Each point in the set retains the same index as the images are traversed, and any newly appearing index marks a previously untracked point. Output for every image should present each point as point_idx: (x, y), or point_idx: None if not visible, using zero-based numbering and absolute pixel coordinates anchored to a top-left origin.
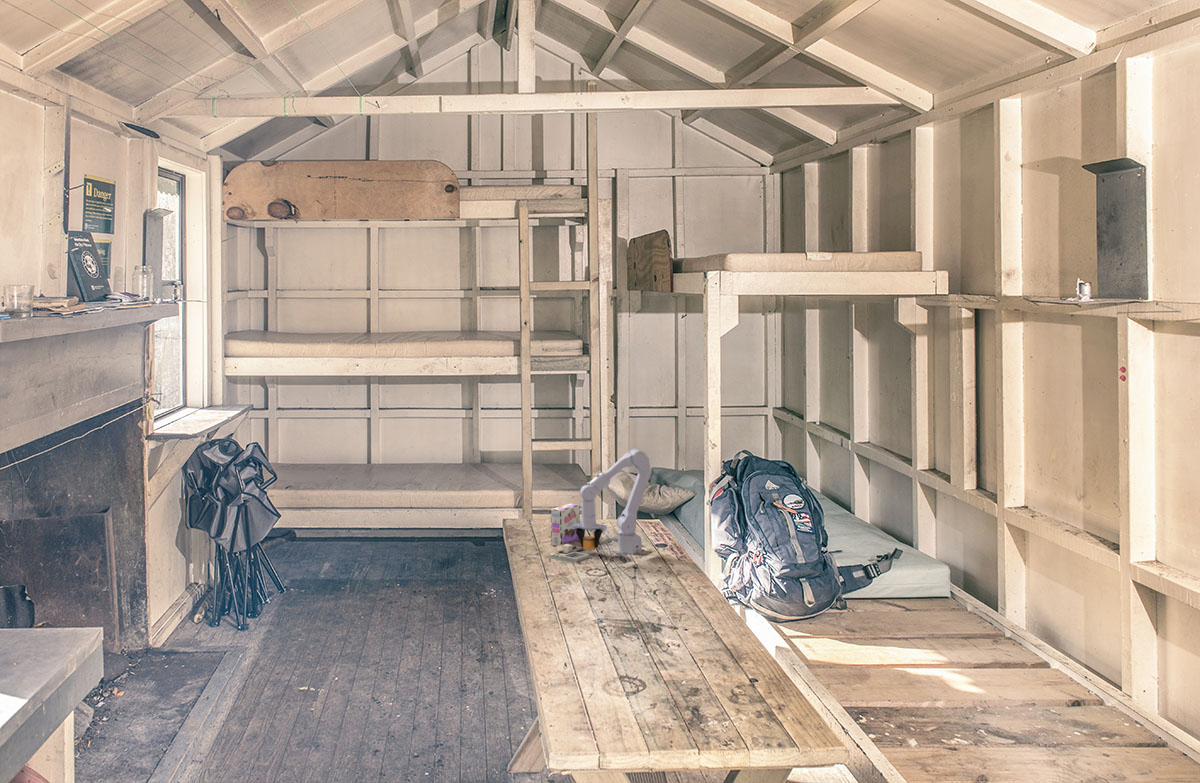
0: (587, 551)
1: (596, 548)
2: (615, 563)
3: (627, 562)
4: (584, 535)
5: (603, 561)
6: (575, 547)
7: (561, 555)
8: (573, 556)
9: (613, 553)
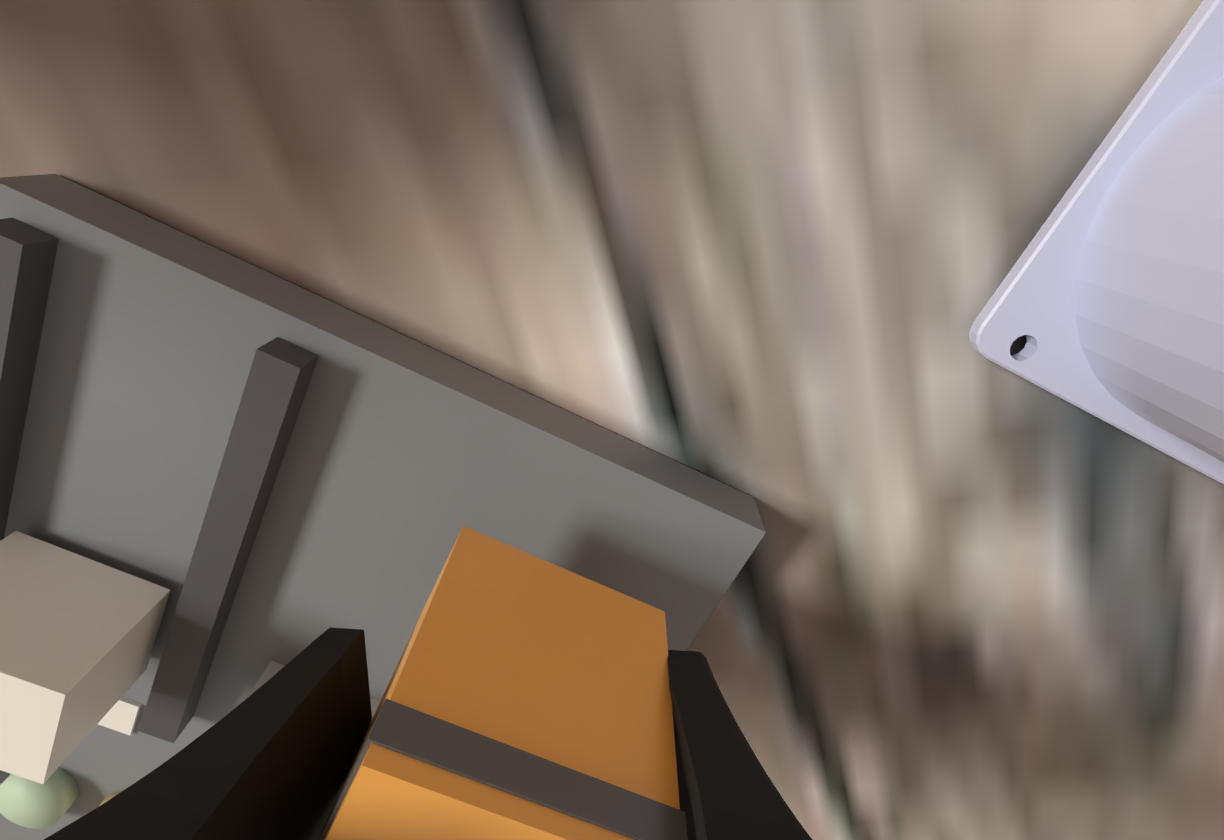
0: (428, 463)
1: (659, 627)
2: (1011, 781)
3: (1202, 724)
4: (207, 830)
5: (815, 721)
6: (36, 266)
7: None
8: None
9: (941, 247)
